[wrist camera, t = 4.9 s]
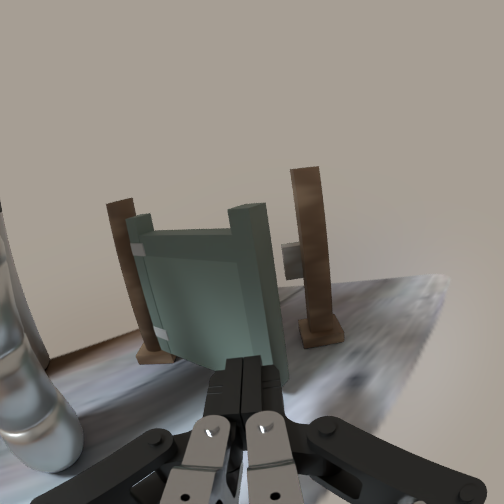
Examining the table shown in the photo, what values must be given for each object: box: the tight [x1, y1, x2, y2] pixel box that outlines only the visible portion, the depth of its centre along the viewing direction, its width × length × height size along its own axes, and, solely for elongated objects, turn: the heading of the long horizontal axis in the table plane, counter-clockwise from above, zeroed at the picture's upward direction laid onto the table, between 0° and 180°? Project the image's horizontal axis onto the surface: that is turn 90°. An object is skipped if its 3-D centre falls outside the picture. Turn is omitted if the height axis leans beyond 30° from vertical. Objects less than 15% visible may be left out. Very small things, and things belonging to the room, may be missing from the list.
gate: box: [125, 203, 289, 387], centre depth 21 cm, size 12×2×12 cm, turn 55°
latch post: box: [281, 166, 344, 349], centre depth 25 cm, size 4×4×15 cm
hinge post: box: [106, 198, 176, 364], centre depth 26 cm, size 4×4×15 cm
